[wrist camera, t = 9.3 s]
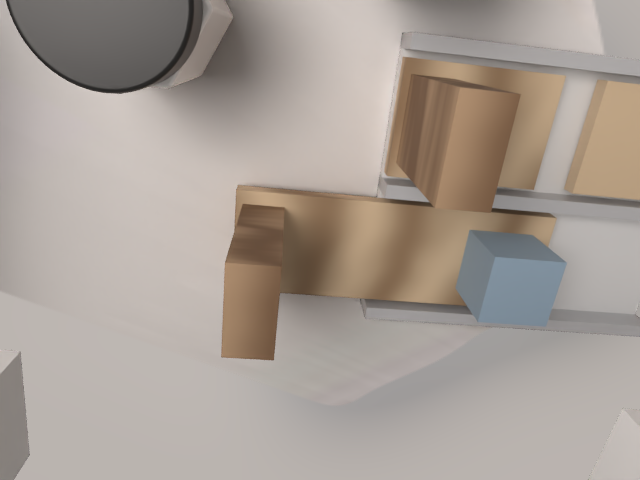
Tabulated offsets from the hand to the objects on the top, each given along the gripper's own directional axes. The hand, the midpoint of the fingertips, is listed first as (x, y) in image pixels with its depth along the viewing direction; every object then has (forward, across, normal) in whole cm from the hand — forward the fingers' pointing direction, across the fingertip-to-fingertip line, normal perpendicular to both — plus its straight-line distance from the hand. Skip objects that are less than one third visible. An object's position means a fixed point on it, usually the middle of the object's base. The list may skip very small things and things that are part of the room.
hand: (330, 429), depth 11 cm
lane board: (+28, +18, 0) cm, 33 cm away
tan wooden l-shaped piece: (+26, +8, -6) cm, 28 cm away
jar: (+28, -10, +8) cm, 31 cm away
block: (+25, +16, -6) cm, 30 cm away
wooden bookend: (+26, +11, +4) cm, 29 cm away
